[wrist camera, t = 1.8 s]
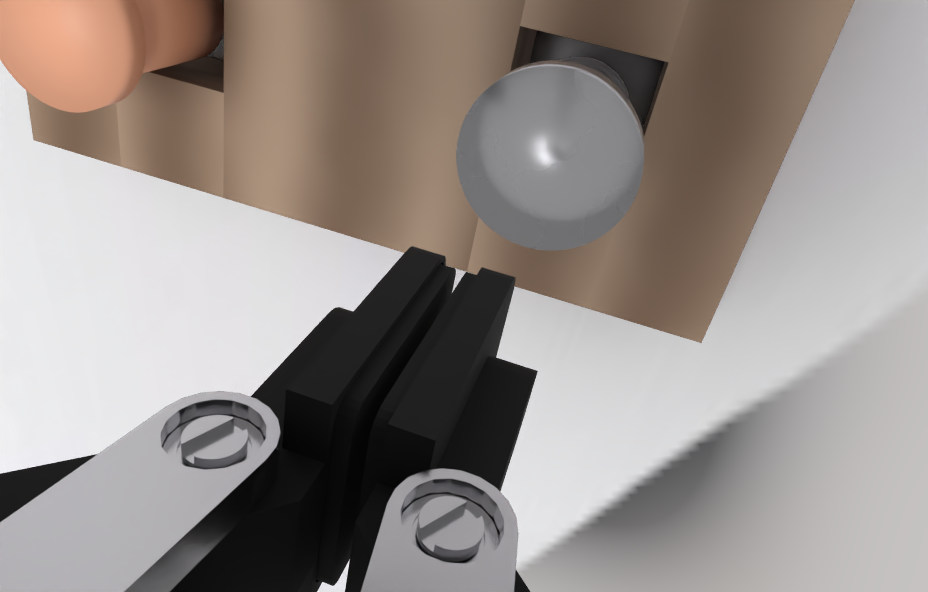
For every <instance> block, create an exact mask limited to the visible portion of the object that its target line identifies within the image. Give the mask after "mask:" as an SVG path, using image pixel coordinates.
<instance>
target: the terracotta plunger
mask: <svg viewBox="0 0 928 592" xmlns="http://www.w3.org/2000/svg"><path fill="white" fill-rule="evenodd" d="M223 32H224V7H223V3H222V0H0V60H1V61H2V63H3V64H4V66H5V67H6V68H7V70H8V71H9V72H10V74H11V75H12V76H13V77H14V78H15V79H16V81H17V82H18V83H19V84H20V85H21V86H22V87H23V88H24V89H26V90H27V91H28V92H29V93H30V94H32V95H33V96H34V97H36V98H37V99H39V100H40V101H42V102H43V103H45V104H47V105H49V106H51V107H54V108H56V109H59V110H62V111H67V112H75V113H81V112H88V111H92V110H95V109H99V108H102V107H105V106H109V105H112V104H115V103H117V102H119V101H121V100H123V99H125V98H126V97H127V96H128V95H130V93H131V92H132V91H133V90H134V89H135V87H136V86H137V84H138V83H139V80H140V78H141V76H142V73H146V72H150V71H154V70H157V69H161V68H165V67H169V66H173V65H177V64H181V63H184V62H188V61H192V60H196V59H200V58H203V57H205V56H207V55H209V54H210V53H212V52H213V51H214V50H215V49H216V47H217V46H218V44H219V43H220V41H221V39H222V36H223Z"/></svg>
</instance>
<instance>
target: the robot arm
mask: <svg viewBox="0 0 928 592" xmlns="http://www.w3.org/2000/svg"><path fill="white" fill-rule="evenodd" d="M455 274H456V270H455V268H452V267H448V266H446V257H445V256H443V255H440V254H437V253H433V252H430V251H427V250H424V249H420V248H417V247H414V246H411V247H410V248H409V249H408V250H407V251H406V252H405V253H404V254H403V255H402V257H401V258H400V259H399V260H398V261H397V262H396V263H395V265H394V266H393V267H392V268H391V269H390V270H389V272H388V273H387V274H386V275H385V276H384V277H383V278H382V280H381V281H380V282H379V283H378V284H377V285H376V286H375V288H374V289H373V290H372V291H371V292H370V293H369V294H368V296H367V297H366V298H365V299H364V300H363V301H362V303H361V304H360V305H359V306H358V307H357V308H356V309H355V311H354V312H352V311H349V310H346V309H343V308H340V307H338V308H334V309H333V310H332V311H330V312H329V313H328V314H327V316H326V317H325V318H324V319H323V320H322V321H321V322H320V323H319V324H318V325H317V326H316V327H315V328H314V329H313V331H312V332H311V333H310V334H309V335H308V336H307V337H306V338H305V339H304V340H303V341H302V342H301V343H300V344H299V345H298V347H297V348H296V349H295V350H294V351H293V352H292V353H291V354H290V355H289V356H288V357H287V358H286V359H285V360H284V362H283V363H282V364H281V365H280V366H279V367H278V368H277V369H276V370H275V371H274V372H273V373H272V374H271V375H270V377H269V378H268V379H267V380H266V381H265V382H264V383H263V384H262V385H261V386H260V387H259V388H258V389H257V390H256V391H255V393H254V394H253V395H252V396H251V397H250V396H247V395H244V394H241V393H234V392H225V391H216V392H204V393H198V394H195V395H191V396H188V397H184V398H181V399H180V400H178V401H176V402H174V403H172V404H170V405H168V406H166V407H165V408H163V409H162V410H160V411H159V412H158V413H156V414H155V415H153V416H152V417H150V418H149V419H148V420H146V421H145V422H143V423H142V424H140V425H139V426H138V427H136V428H135V429H133V430H132V431H130V432H129V433H127V434H126V435H125V436H123V437H122V438H120V439H119V440H117V441H116V442H115V443H113V444H112V445H110V446H109V447H107V448H106V449H105V450H103V451H102V452H100V453H99V454H96V455H91V456H86V457H81V458H76V459H71V460H66V461H61V462H56V463H51V464H46V465H42V466H37V467H32V468H27V469H22V470H17V471H12V472H7V473H2V474H0V592H317V591H318V589H319V587H320V585H321V583H322V582H324V583H327V584H329V585H332V586H333V585H335V584H336V583H337V581H338V579H339V578H340V576H341V574H342V572H343V570H344V568H345V567H346V565H347V563H348V561H349V559H350V563H349V569H348V576H347V582H346V589H345V592H530V591H529V589H528V587H527V586H526V584H525V583H524V582H523V580H522V578H521V577H520V575H519V574H518V572H517V571H516V558H517V545H518V527H517V518H516V515H515V513H514V511H513V509H512V507H511V505H510V503H509V501H508V500H507V499H506V498H505V497H504V496H503V495H502V493H501V492H500V491H501V488H502V484H503V481H504V478H505V475H506V472H507V469H508V466H509V463H510V460H511V456H512V453H513V450H514V447H515V444H516V441H517V437H518V434H519V431H520V428H521V425H522V421H523V418H524V415H525V411H526V408H527V405H528V402H529V398H530V395H531V392H532V388H533V385H534V382H535V378H536V375H537V371H536V370H533V369H530V368H527V367H523V366H520V365H517V364H514V363H511V362H508V361H505V360H502V359H499V358H496V355H497V351H498V348H499V344H500V340H501V336H502V332H503V328H504V325H505V321H506V317H507V313H508V309H509V305H510V302H511V298H512V294H513V290H514V286H515V281H516V277H513V276H510V275H506V274H503V273H500V272H496V271H493V270H490V269H486V268H483V267H482V268H481V269H480V270H479V272H478V274H477V275H475V274H471V273H468V272H466V273H465V274H464V276H463V277H462V279H461V280H460V282H459V283H458V285H457V287H456V288H455V290H454V291H453V293H452V290H453V285H454V280H455Z"/></svg>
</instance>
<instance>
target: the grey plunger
mask: <svg viewBox="0 0 928 592" xmlns="http://www.w3.org/2000/svg"><path fill="white" fill-rule="evenodd" d="M644 158H645V142H644V135H643V130H642V126H641V123H640V120H639V117H638V115H637V113H636V111H635V109H634V107H633V105H632V104H631V102H630V96H629V93H628V90H627V88H626V86H625V83H624V82H623V80H622V79H621V77H620V76H619V75H618V74H617V73H616V72H615V71H614V70H613V69H612V68H611V67H610V66H608V65H607V64H605V63H603V62H601V61H599V60H596V59H593V58H589V57H582V56H575V57H568V58H564V59H561V60H548V61H539V62H534V63H530V64H526V65H524V66H521V67H519V68H516V69H514V70H512V71H511V72H509V73H507V74H505V75H504V76H503V77H501V78H500V79H499V80H497V81H496V82H495V83H493V84H492V85H491V86H490V87H488V88H487V89H486V90H485V91H484V92H483V93H482V94H481V95H480V96H479V97H478V98H477V100H476V101H475V102H474V104H473V105H472V106H471V108H470V109H469V111H468V113H467V115H466V117H465V119H464V121H463V124H462V126H461V129H460V133H459V137H458V141H457V150H456V164H457V171H458V177H459V180H460V184H461V187H462V189H463V192H464V194H465V197H466V199H467V200H468V202H469V204H470V206H471V207H472V209H473V210H474V211H475V213H476V214H477V215H478V217H479V218H480V219H481V220H482V221H483V222H484V223H485V224H486V225H487V226H488V227H490V228H491V229H492V230H493V231H494V232H496V233H497V234H499V235H500V236H502V237H503V238H505V239H507V240H509V241H511V242H513V243H516V244H519V245H521V246H524V247H528V248H532V249H537V250H547V251H554V250H566V249H572V248H576V247H579V246H583V245H585V244H588V243H590V242H592V241H594V240H596V239H598V238H600V237H601V236H603V235H604V234H606V233H607V232H608V231H610V230H611V229H612V228H613V227H614V226H615V225H616V224H617V223H618V222H619V221H620V220H621V219H622V218H623V217H624V215H625V214H626V213H627V212H628V210H629V208H630V207H631V205H632V203H633V202H634V199H635V197H636V195H637V192H638V190H639V186H640V183H641V179H642V173H643V166H644Z"/></svg>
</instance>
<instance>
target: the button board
mask: <svg viewBox="0 0 928 592" xmlns="http://www.w3.org/2000/svg"><path fill="white" fill-rule="evenodd" d="M854 1H855V0H224V61H222V60H218V59H214V58H211V57H207V56H205V57H203V58H200V59H196V60H192V61H188V62H184V63H181V64H177V65H173V66H169V67H165V68H161V69H157V70H154V71H150V72H146V73H142V76H141V78H140V80H139V83H138V84H137V86H136V87H135V89H134V90H133V91H132V92H131V93H130V95H128V96H127V97H126V98H125V99H123V100H121V101H119V102H117V103H115V104H112V105H109V106H105V107H102V108H99V109H95V110H92V111H88V112H81V113H75V112H67V111H62V110H59V109H56V108H54V107H51V106H49V105H47V104H45V103H43V102H42V101H40V100H39V99H37V98H36V97H34V96H33V95H32V94H30V93H29V92H28V91H27V90H26V91H27V98H28V105H29V112H30V118H31V125H32V132H33V139H34V140H35V141H39V142H42V143H45V144H48V145H52V146H55V147H58V148H62V149H65V150H68V151H72V152H75V153H78V154H81V155H85V156H88V157H91V158H95V159H98V160H101V161H104V162H108V163H111V164H114V165H118V166H121V167H124V168H127V169H131V170H134V171H137V172H141V173H144V174H147V175H150V176H154V177H157V178H160V179H164V180H167V181H170V182H174V183H177V184H180V185H183V186H187V187H190V188H193V189H197V190H200V191H203V192H206V193H210V194H213V195H216V196H220V197H223V198H226V199H229V200H233V201H236V202H239V203H243V204H246V205H249V206H252V207H256V208H259V209H262V210H266V211H269V212H272V213H276V214H279V215H282V216H285V217H289V218H292V219H295V220H299V221H302V222H305V223H308V224H312V225H315V226H318V227H322V228H325V229H328V230H331V231H335V232H338V233H341V234H345V235H348V236H351V237H354V238H358V239H361V240H364V241H368V242H371V243H374V244H378V245H381V246H384V247H387V248H391V249H394V250H397V251H401V252H404V253H405V252H406V251H407V250H408V249H409V248H410V247H411V246H414V247H417V248H420V249H424V250H427V251H430V252H433V253H437V254H440V255H443V256H445V257H446V265H447V266H450V267H453V268H456V269H460V270H463V271H466V272H470V273H473V274H476V275H477V274H478V272H479V270H480V269H481V268H482V267H483V268H486V269H490V270H493V271H496V272H500V273H503V274H506V275H510V276H513V277H516V281H515V286H516V287H519V288H522V289H526V290H529V291H532V292H535V293H539V294H542V295H545V296H549V297H552V298H555V299H558V300H562V301H565V302H568V303H572V304H575V305H578V306H581V307H585V308H588V309H591V310H595V311H598V312H601V313H605V314H608V315H611V316H614V317H618V318H621V319H624V320H628V321H631V322H634V323H637V324H641V325H644V326H647V327H651V328H654V329H657V330H660V331H664V332H667V333H670V334H674V335H677V336H680V337H683V338H687V339H690V340H693V341H697V342H700V343H702V340H703V338H704V336H705V334H706V331H707V329H708V327H709V325H710V323H711V320H712V318H713V316H714V314H715V311H716V309H717V307H718V305H719V302H720V300H721V298H722V296H723V293H724V291H725V289H726V287H727V285H728V282H729V280H730V278H731V276H732V273H733V271H734V269H735V267H736V264H737V262H738V260H739V258H740V256H741V253H742V251H743V249H744V247H745V244H746V242H747V240H748V238H749V235H750V233H751V231H752V229H753V227H754V224H755V222H756V220H757V218H758V215H759V213H760V211H761V209H762V206H763V204H764V202H765V200H766V198H767V195H768V193H769V191H770V189H771V186H772V184H773V182H774V180H775V177H776V175H777V173H778V171H779V169H780V166H781V164H782V162H783V160H784V157H785V155H786V153H787V151H788V148H789V146H790V144H791V142H792V139H793V137H794V135H795V133H796V131H797V128H798V126H799V124H800V122H801V119H802V117H803V115H804V113H805V110H806V108H807V106H808V104H809V102H810V99H811V97H812V95H813V93H814V90H815V88H816V86H817V84H818V81H819V79H820V77H821V75H822V73H823V70H824V68H825V66H826V64H827V61H828V59H829V57H830V55H831V52H832V50H833V48H834V46H835V44H836V41H837V39H838V37H839V35H840V32H841V30H842V28H843V26H844V23H845V21H846V19H847V17H848V15H849V12H850V10H851V8H852V6H853V3H854ZM537 30H539V31H543V32H547V33H551V34H555V35H559V36H563V37H567V38H571V39H575V40H579V41H583V42H587V43H592V44H596V45H600V46H604V47H608V48H612V49H616V50H620V51H624V52H628V53H632V54H636V55H640V56H644V57H649V58H653V59H657V60H661V61H665V62H664V65H663V69H662V72H661V75H660V78H659V81H658V84H657V87H656V90H655V93H654V96H653V99H652V102H651V105H650V108H649V111H648V114H647V117H646V120H645V123H644V126H643V129H642V130H643V135H644V142H645V158H644V166H643V173H642V179H641V183H640V186H639V190H638V192H637V195H636V197H635V199H634V202H633V203H632V205H631V207H630V208H629V210H628V212H627V213H626V214H625V215H624V217H623V218H622V219H621V220H620V221H619V222H618V223H617V224H616V225H615V226H614V227H613V228H612V229H611V230H610V231H608V232H607V233H606V234H604V235H603V236H601V237H600V238H598V239H596V240H594V241H592V242H590V243H588V244H585V245H583V246H579V247H576V248H572V249H566V250H554V251H547V250H537V249H532V248H528V247H524V246H521V245H519V244H516V243H513V242H511V241H509V240H507V239H505V238H503V237H502V236H500V235H499V234H497V233H496V232H494V231H493V230H492V229H491V228H490V227H488V226H487V225H486V224H485V223H484V222H483V221H482V220H481V219H480V218H479V217H478V215H477V214H476V213H475V211H474V210H473V209H472V207H471V206H470V204H469V202H468V200H467V199H466V197H465V194H464V192H463V189H462V187H461V184H460V180H459V177H458V171H457V164H456V150H457V141H458V137H459V133H460V129H461V126H462V124H463V121H464V119H465V117H466V115H467V113H468V111H469V109H470V108H471V106H472V105H473V104H474V102H475V101H476V100H477V98H478V97H479V96H480V95H481V94H482V93H483V92H484V91H485V90H486V89H487V88H488V87H490V86H491V85H492V84H493V83H495V82H496V81H497V80H499V79H500V78H501V77H503V76H504V75H505V74H507V73H509V72H511V71H512V70H514V69H516V68H519V67H521V66H524V65H526V64H530V59H531V55H532V51H533V46H534V42H535V37H536V33H537Z"/></svg>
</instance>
